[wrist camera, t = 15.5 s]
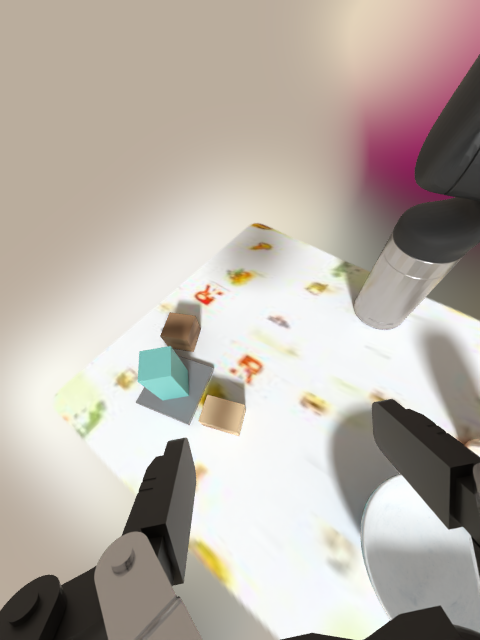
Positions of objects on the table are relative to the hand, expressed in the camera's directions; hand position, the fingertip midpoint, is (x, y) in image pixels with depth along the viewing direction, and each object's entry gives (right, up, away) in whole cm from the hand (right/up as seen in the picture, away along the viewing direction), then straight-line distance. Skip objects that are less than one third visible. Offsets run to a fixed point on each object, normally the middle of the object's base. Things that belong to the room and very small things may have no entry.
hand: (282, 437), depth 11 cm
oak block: (-4, -11, +30) cm, 32 cm away
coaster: (-13, -7, +33) cm, 36 cm away
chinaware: (+19, -23, +21) cm, 36 cm away
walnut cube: (-13, +1, +38) cm, 40 cm away
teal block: (-13, -6, +32) cm, 35 cm away
